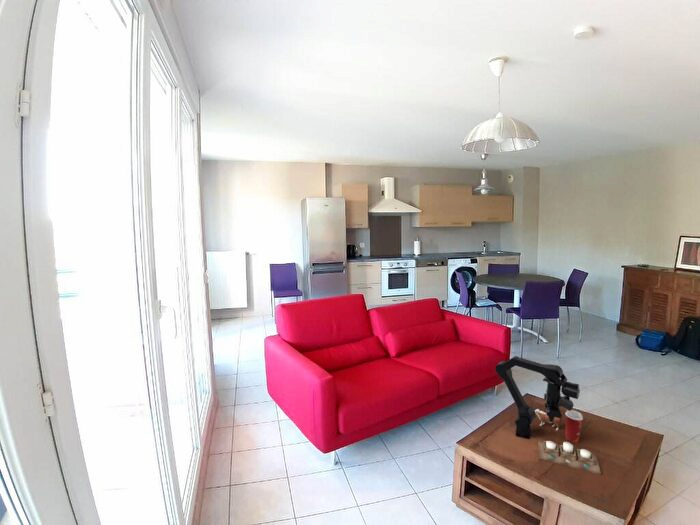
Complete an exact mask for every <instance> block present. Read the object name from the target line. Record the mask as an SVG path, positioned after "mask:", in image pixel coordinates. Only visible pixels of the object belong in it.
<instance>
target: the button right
mask: <svg viewBox="0 0 700 525" xmlns="http://www.w3.org/2000/svg"><path fill="white" fill-rule="evenodd" d="M590 452H591V451H589V450H588V449H585V448H582V449H580V456H582V457H586V458H590V457H591V453H590Z"/></svg>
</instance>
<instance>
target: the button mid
mask: <svg viewBox="0 0 700 525" xmlns="http://www.w3.org/2000/svg"><path fill="white" fill-rule="evenodd" d="M562 445H563V452H566V453H570V454H573V448H574V445H573V444H572V442H570V441H563V443H562Z"/></svg>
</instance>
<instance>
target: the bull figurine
mask: <svg viewBox="0 0 700 525" xmlns="http://www.w3.org/2000/svg"><path fill="white" fill-rule="evenodd" d="M534 411H535V412H536V413H535V415H536V416H537V417H538V419H539V420H540V421H541V422H540V424H539V427H542V426H543V425H545V424H546V422H547V423H549V424H552V423H553V425H551V427H552V428H553V427H556V429H555V431H558V430H559V428H560V423H561V422H562V421H563V420H562V418H556V417H554V419H553V422H551V421H550V420H549V417H548V415H547V414H546V411H545V412H544V411H543V410H542V409H539V408H537V409H535V410H534Z"/></svg>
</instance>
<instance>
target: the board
mask: <svg viewBox="0 0 700 525" xmlns="http://www.w3.org/2000/svg"><path fill="white" fill-rule="evenodd" d="M547 441H548V440H543V441H542V442H540V441H538V442H537V446H538V447H537V448H538V458H539V459H541V460H544V461H548V462H551V463H554V464H559V465H564V466H566V467H570V468H573V469H574V468H575V469H578V470H582V471H586V472H589V473H594V474H597V475H600V476H601V475H602V472H601V468H600V465H599V462H598V460H597V459H598V458H597V456H596V455H595V454H593V452H592V451H589V452H590V453H591V457H590V458H586V457H582V456H580V450H581V449H580V448H575V447H573V454H570V453H566V452H563V444H560V443H559V445H558V443H555V442H554V443H555V444H556V449H555V450H554V449H550V448H546V442H547Z"/></svg>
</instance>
